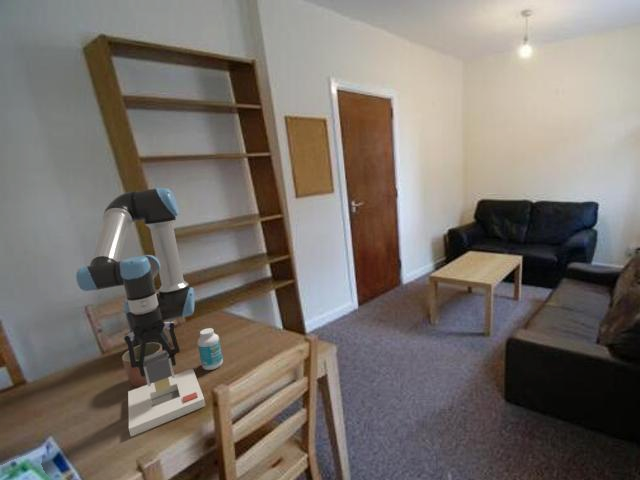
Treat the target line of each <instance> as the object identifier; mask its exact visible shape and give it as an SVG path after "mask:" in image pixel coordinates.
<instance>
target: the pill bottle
mask: <svg viewBox="0 0 640 480" xmlns="http://www.w3.org/2000/svg"><path fill="white" fill-rule="evenodd" d="M199 336H200V337H199V338H198V339H197V347H198V351H199V353H198V354H199V358H200V363H201V367H202V369H203V370H205V371H211V370H215V369H218V368H219V367H221V365H223V363H224V359H223V352H222V347H221V341H220V336H219V335H218V334H216V333H215V332H214V329H213V328H212V327H209V328H204V329H202V330H200V331H199Z"/></svg>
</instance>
